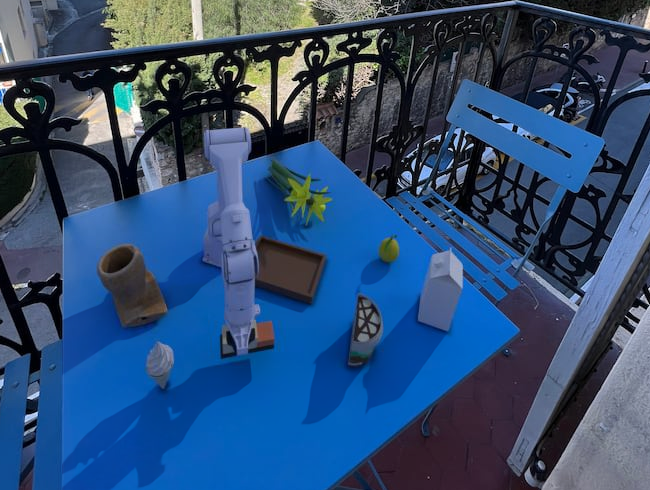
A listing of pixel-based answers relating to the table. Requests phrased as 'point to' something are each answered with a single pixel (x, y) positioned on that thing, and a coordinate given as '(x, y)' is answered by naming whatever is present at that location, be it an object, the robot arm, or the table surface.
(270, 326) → the beige and orange block
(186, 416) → the table surface
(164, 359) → the ice cream cone
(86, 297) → the table surface
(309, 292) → the brown serving tray
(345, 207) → the table surface
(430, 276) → the milk carton
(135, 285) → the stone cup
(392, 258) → the yellow pear
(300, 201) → the daffodil flowers
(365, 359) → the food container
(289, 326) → the table surface
